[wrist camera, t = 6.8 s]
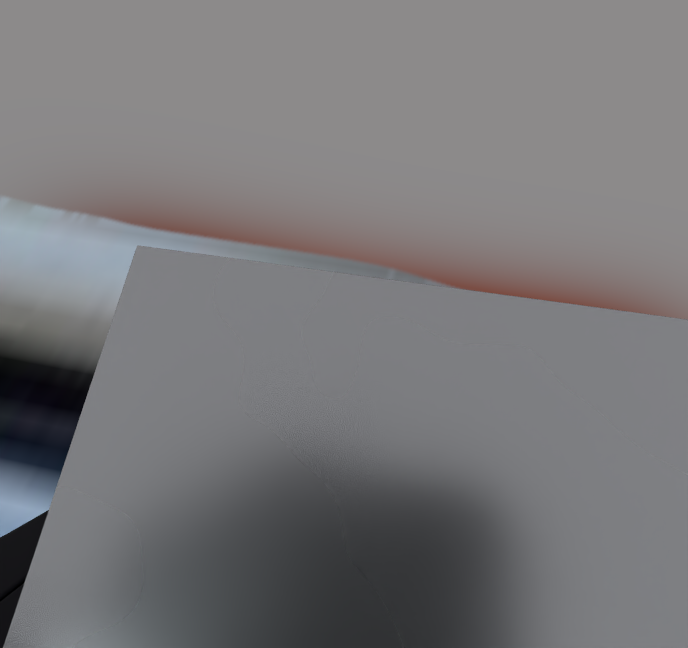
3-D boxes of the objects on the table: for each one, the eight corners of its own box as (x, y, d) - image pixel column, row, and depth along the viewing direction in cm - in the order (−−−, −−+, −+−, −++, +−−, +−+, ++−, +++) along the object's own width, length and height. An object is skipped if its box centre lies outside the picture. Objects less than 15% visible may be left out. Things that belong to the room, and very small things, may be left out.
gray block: (433, 579, 13) (761, 1216, 2) (294, 551, 14) (-91, 931, 2) (447, 439, 15) (712, 324, 3) (319, 416, 15) (136, 245, 4)
